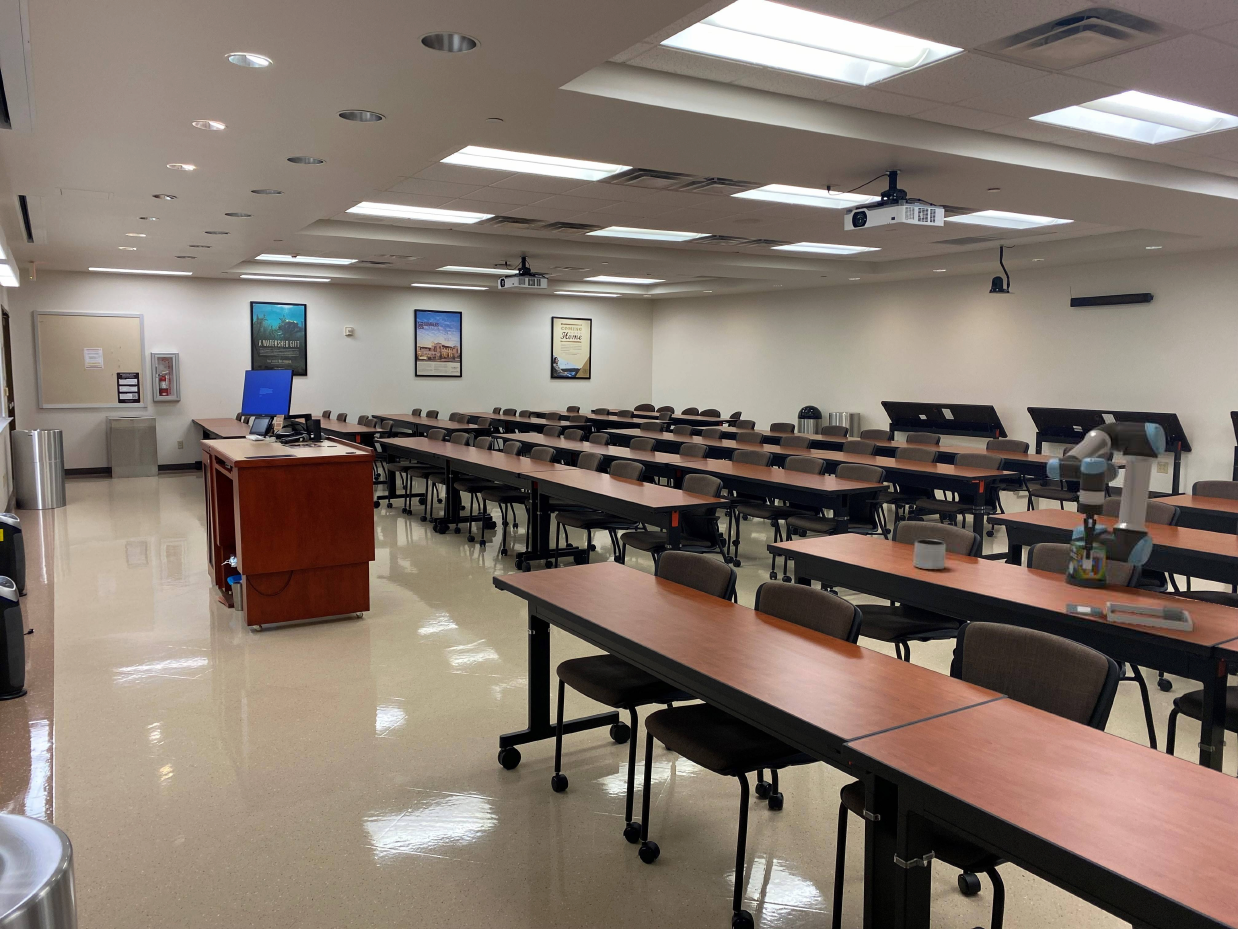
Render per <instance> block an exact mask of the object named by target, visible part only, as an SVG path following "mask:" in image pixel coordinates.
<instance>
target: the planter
mask: <svg viewBox="0 0 1238 929" xmlns="http://www.w3.org/2000/svg"><path fill="white" fill-rule="evenodd" d="M913 551H914V554H913V566H914V567H916V568H917V567H918V568H917V569H919V568H922V569H921V570H924V569H941V570H943V569H944V568H945V566H946V565H945V564H946V541H942V540H940V539H939V540H938V539H933V538H932V539H931V538H920V539H919V538H918V539H916V540H914V550H913Z"/></svg>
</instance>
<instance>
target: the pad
mask: <svg viewBox="0 0 1238 929" xmlns="http://www.w3.org/2000/svg"><path fill="white" fill-rule="evenodd" d="M1065 609H1066V610H1065V613H1066V612H1070V613H1077V614H1076V615H1078V614H1082V615H1081V616H1086V615H1091V616H1090V617H1094V616H1098V617H1097V618H1103V610H1102V607H1100V606H1093V605H1092V606H1091V605H1084V604H1083V605H1082V604H1076V603H1075V604H1074V603H1066V608H1065ZM1070 613H1069V614H1070Z"/></svg>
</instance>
